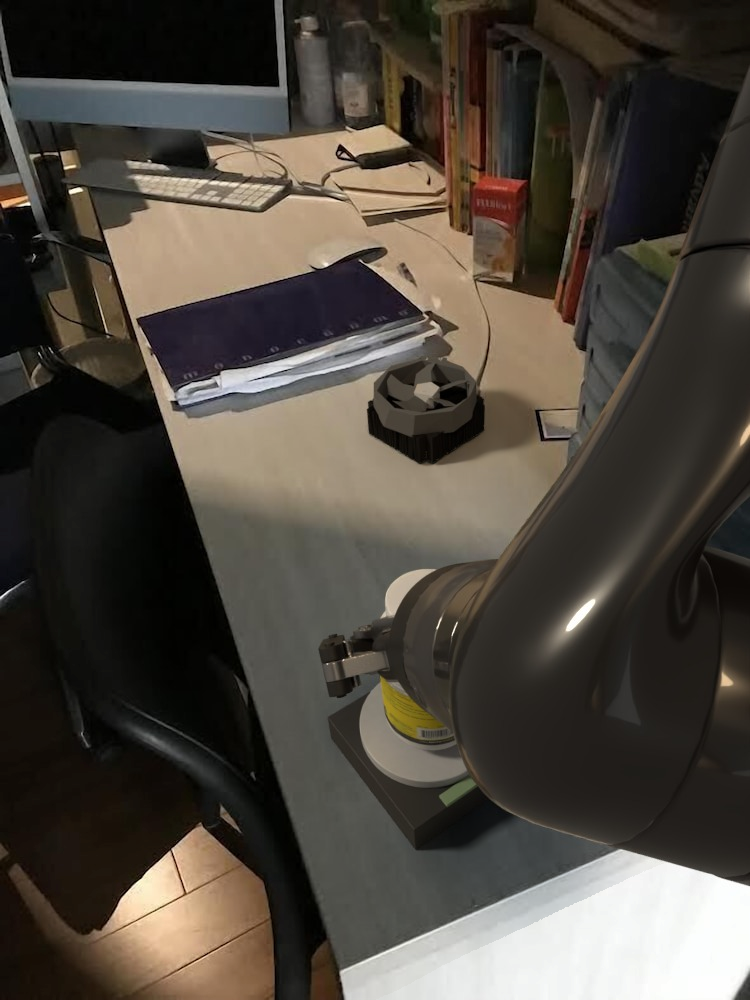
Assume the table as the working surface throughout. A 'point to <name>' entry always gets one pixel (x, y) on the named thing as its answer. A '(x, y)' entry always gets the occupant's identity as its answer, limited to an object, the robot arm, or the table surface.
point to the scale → (404, 771)
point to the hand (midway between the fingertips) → (419, 629)
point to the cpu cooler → (425, 408)
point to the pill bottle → (398, 706)
